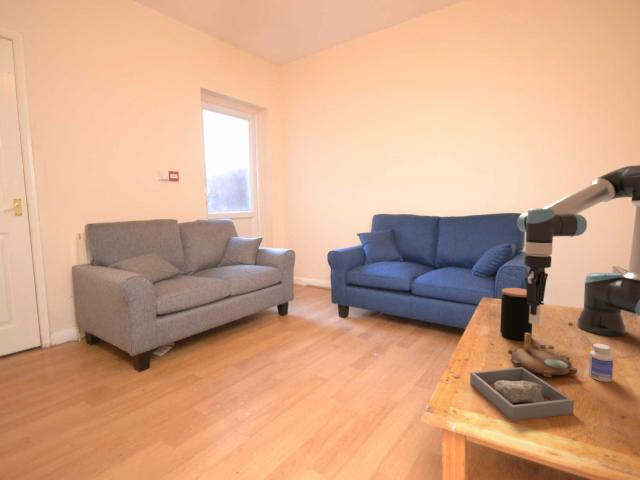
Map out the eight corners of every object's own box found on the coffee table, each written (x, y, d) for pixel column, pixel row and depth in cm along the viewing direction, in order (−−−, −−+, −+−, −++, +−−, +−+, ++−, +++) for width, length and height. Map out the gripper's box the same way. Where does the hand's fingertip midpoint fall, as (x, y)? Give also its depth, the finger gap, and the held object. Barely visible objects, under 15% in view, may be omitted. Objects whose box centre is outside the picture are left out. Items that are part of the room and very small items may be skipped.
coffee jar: (529, 333, 137) (531, 289, 135) (533, 343, 127) (535, 295, 125) (499, 329, 141) (500, 286, 139) (500, 339, 131) (502, 293, 129)
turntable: (545, 348, 119) (546, 328, 118) (591, 372, 102) (593, 349, 101) (495, 353, 116) (496, 332, 115) (534, 378, 99) (535, 354, 98)
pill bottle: (616, 383, 99) (618, 350, 98) (595, 381, 100) (597, 349, 99) (605, 373, 104) (607, 343, 103) (584, 372, 105) (586, 341, 104)
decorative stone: (524, 417, 84) (525, 397, 84) (486, 395, 94) (486, 378, 94) (554, 403, 90) (555, 385, 89) (515, 384, 99) (515, 367, 99)
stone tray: (521, 378, 102) (522, 367, 102) (573, 413, 85) (573, 400, 85) (470, 383, 100) (470, 372, 100) (512, 421, 83) (512, 407, 82)
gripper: (533, 251, 121) (529, 316, 124) (517, 255, 113) (514, 324, 116) (558, 254, 115) (553, 322, 118) (543, 258, 107) (538, 330, 110)
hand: (534, 323), depth 117 cm, fingers closed
